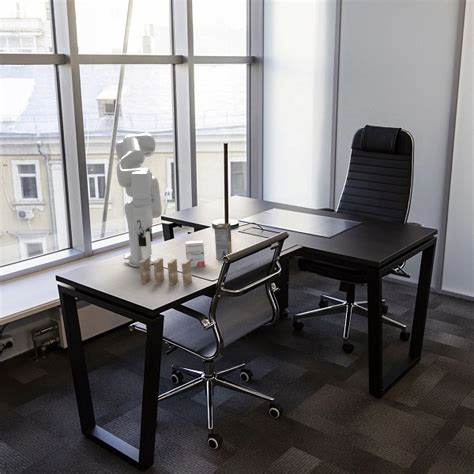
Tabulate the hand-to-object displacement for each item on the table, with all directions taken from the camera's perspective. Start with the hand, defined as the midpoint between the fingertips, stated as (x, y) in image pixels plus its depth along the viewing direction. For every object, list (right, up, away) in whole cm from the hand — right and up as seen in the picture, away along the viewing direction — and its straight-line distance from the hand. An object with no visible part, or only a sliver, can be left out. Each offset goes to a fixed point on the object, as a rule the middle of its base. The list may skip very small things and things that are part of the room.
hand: (145, 243), depth 248 cm
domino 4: (+16, -18, +13) cm, 27 cm away
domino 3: (+10, -17, +14) cm, 25 cm away
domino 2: (+4, -17, +16) cm, 24 cm away
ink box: (+18, -11, +36) cm, 42 cm away
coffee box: (+32, -7, +48) cm, 58 cm away
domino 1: (-2, -17, +17) cm, 25 cm away
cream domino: (0, -5, +2) cm, 6 cm away
